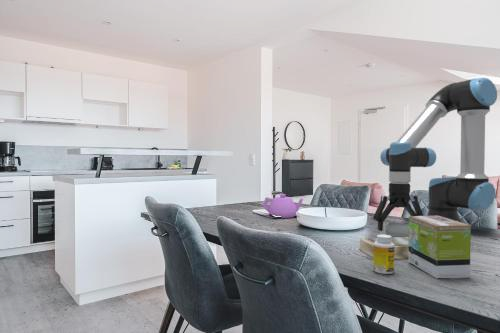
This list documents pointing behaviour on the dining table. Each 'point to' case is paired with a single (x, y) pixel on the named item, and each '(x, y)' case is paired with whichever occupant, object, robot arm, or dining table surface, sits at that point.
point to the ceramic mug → (398, 230)
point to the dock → (399, 242)
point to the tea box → (440, 246)
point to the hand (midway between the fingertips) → (398, 238)
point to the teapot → (282, 206)
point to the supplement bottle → (383, 255)
